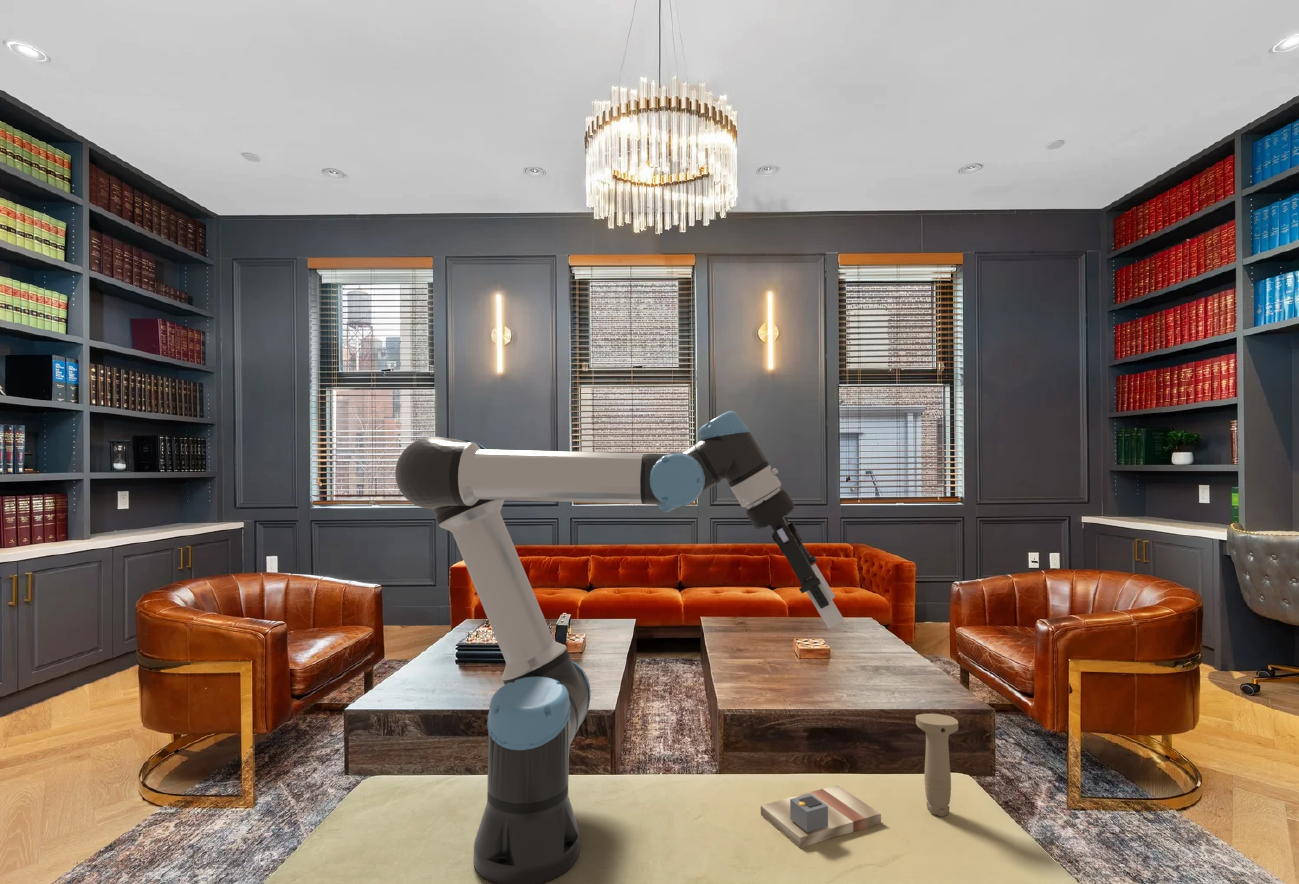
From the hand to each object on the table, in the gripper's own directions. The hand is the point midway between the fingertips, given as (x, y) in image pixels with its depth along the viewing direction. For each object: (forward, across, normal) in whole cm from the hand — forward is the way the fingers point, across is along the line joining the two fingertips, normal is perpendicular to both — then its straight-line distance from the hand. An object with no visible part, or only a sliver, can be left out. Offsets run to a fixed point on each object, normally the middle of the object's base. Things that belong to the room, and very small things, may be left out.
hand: (832, 611), depth 103 cm
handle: (+38, +4, +2) cm, 38 cm away
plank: (+27, -2, +19) cm, 33 cm away
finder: (+24, -7, +19) cm, 32 cm away
